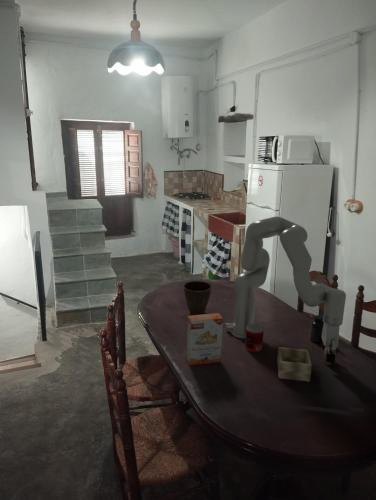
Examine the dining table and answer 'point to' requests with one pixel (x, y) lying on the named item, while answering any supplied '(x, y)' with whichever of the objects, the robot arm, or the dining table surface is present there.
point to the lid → (326, 356)
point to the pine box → (294, 364)
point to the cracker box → (204, 339)
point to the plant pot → (197, 296)
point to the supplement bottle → (317, 329)
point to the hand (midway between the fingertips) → (328, 355)
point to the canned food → (254, 337)
